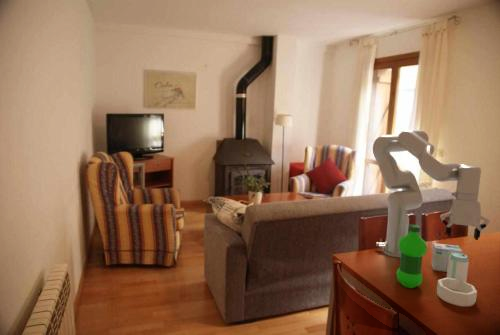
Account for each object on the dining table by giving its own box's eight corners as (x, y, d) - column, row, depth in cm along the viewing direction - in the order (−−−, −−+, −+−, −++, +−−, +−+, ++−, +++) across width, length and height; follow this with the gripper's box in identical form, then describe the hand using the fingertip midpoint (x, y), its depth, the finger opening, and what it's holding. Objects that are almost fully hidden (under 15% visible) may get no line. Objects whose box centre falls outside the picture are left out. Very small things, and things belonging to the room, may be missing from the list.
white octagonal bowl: (440, 302, 126) (441, 290, 125) (434, 286, 137) (435, 275, 137) (479, 309, 122) (480, 297, 121) (469, 292, 133) (471, 281, 133)
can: (451, 276, 146) (454, 250, 145) (469, 283, 141) (472, 256, 139) (443, 280, 143) (446, 253, 141) (460, 287, 137) (464, 259, 135)
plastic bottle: (390, 278, 144) (395, 221, 140) (416, 279, 143) (421, 222, 139) (400, 290, 134) (406, 230, 130) (427, 291, 133) (434, 230, 129)
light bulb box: (456, 267, 155) (459, 245, 153) (460, 274, 149) (463, 251, 147) (430, 264, 158) (432, 242, 157) (432, 270, 152) (435, 247, 150)
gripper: (444, 196, 135) (439, 237, 138) (495, 200, 129) (489, 243, 132) (440, 192, 142) (436, 231, 145) (489, 196, 136) (484, 237, 139)
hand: (462, 237), depth 138 cm, fingers open, 9 cm apart
